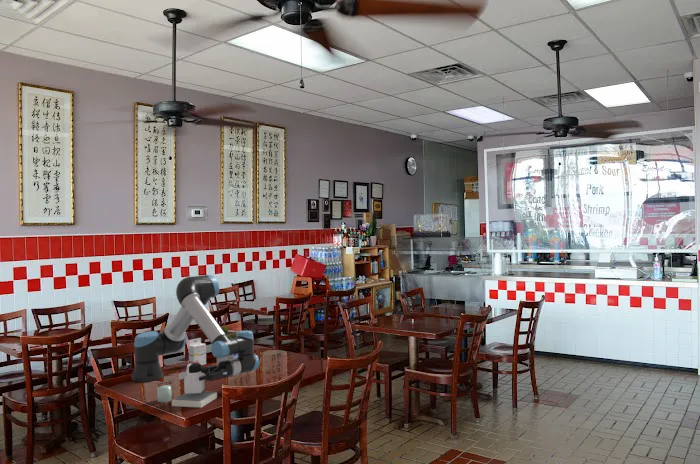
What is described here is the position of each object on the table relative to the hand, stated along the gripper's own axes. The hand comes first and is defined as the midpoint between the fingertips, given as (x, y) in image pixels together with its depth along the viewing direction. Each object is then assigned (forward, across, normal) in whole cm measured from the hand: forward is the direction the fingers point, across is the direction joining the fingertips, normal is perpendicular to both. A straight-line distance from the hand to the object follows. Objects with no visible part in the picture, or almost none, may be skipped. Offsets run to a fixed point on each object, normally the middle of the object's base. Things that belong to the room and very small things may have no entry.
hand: (185, 378), depth 237 cm
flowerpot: (-64, +62, -12) cm, 90 cm away
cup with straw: (-56, +42, -12) cm, 71 cm away
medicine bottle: (-4, 0, -7) cm, 8 cm away
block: (+3, +13, -11) cm, 18 cm away
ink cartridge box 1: (-42, +61, -12) cm, 75 cm away
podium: (-4, 0, -11) cm, 12 cm away
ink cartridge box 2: (-41, +29, -12) cm, 51 cm away
